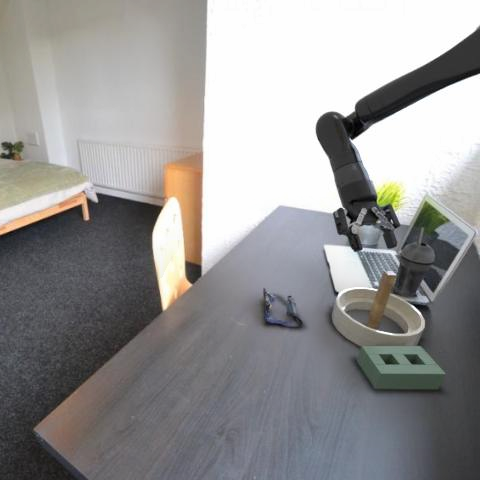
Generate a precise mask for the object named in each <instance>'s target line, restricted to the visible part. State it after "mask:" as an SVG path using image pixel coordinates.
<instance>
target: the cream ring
mask: <svg viewBox="0 0 480 480" xmlns="http://www.w3.org/2000/svg"><path fill="white" fill-rule="evenodd" d="M377 290H378V288H372V287H371V288H370V287H350V288H346V289H343V290H342V291H340V292H338V294H337V296H336V298H335V301H334V305H333V308H332V312H331V321H332V324H333V326H334V327H335V329H336V330H337V331H338V332H339V333H340V334H341V335H342V336H343V337H345V338H346V339H347V340H349V341H350V342H351V343H353V344H356V345H357V346H359V347H361V346H418V344H419V342H420V339H421V337H422V335H423V333H424V330H425V327H426V320H425V318H424V316H423V314H422V313H421V311H420V310H418V308H416V307H415V305H413V304H411V303H410V302H409V301H407V300H406V299H404V298H402V297H400V296H397V295H395V294H393V293H392V292H391V293H390V296H389V299H388V302H387V305H386V307H385V310H384V313H383V316H384V317H387V318H389V319H390V320H392V321H393V322H394V323H396V324H397V325H398V326H399V327H400V328H401V329H402V331H403V333H393V332H386V331H381V330H378V329H372V328H370V327H368V326H367V325H364V323H361V322H359V321H357V320H356V319H354V318H353V317H351V315H349V314H348V312H350V311H353V310H365V311H369V312H370V311H371V308H372V305H373V302H374V299H375V296H376V293H377Z"/></svg>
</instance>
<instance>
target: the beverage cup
mask: <svg viewBox="0 0 480 480" xmlns="http://www.w3.org/2000/svg"><path fill="white" fill-rule="evenodd" d="M424 231H425V227H421V229H420V234H419V238H418V241H414V242H411V243H408V244H407V245H405V246H404V247H403V249H402V250H401V252H400V253H399V264H398V269H397V274H396V275H397V276H396V279H395V282H394V285H393V290H394V292H395V293H397V294H398V295H400V296H403V297H407V298H408V297H409V298H410V297H414V296H415V294H416V293H417V291H418V290H419V288H420V286H421V285H422V282H423V281H424V278H425V277H426V275H427V273H428V271H429V270H430V269H431V267H432V266H433V265H434V263H435V258H436V255H435V251H434V249H433V248H432V247H431V246H430V245H429V244H428V243H425V242H422V240H423V235H424Z"/></svg>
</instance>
